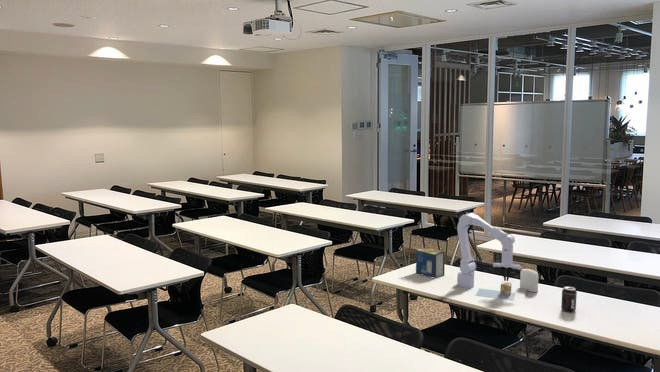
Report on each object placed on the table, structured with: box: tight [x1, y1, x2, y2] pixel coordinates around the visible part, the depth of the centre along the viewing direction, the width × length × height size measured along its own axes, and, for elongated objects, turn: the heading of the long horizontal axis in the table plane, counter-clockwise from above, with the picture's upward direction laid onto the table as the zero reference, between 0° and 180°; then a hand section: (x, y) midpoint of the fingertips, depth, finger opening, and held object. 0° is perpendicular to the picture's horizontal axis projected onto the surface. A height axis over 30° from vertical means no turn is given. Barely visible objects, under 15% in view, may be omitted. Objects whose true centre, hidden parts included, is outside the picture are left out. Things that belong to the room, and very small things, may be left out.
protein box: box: [415, 247, 446, 278], centre depth 334 cm, size 10×15×16 cm
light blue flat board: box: [474, 288, 517, 302], centre depth 291 cm, size 20×14×1 cm
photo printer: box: [519, 268, 539, 293], centre depth 301 cm, size 10×4×12 cm, turn 39°
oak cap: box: [499, 281, 512, 296], centre depth 292 cm, size 5×5×6 cm
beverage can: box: [560, 286, 578, 313], centre depth 268 cm, size 7×7×12 cm
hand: (506, 280), depth 291 cm, fingers closed
